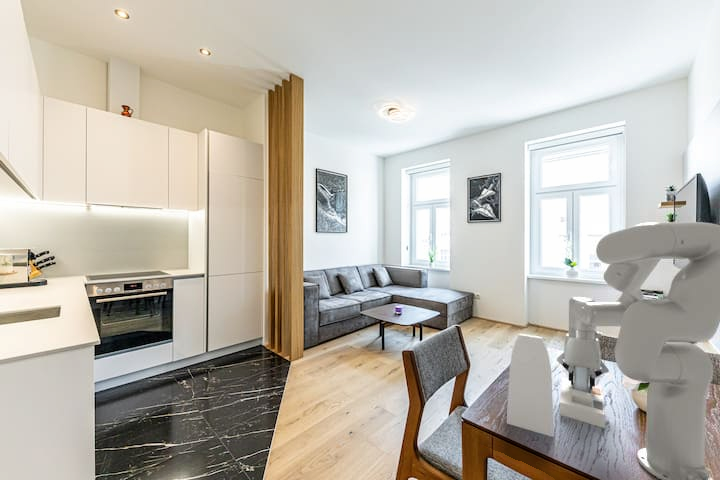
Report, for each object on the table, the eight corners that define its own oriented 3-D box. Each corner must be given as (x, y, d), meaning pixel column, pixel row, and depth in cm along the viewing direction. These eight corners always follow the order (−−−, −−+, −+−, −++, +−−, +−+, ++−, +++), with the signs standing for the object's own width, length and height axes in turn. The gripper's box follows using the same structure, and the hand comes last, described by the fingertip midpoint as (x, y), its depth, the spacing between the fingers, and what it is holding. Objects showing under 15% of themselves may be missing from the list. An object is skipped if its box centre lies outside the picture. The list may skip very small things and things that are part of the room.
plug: (591, 402, 99) (591, 367, 99) (579, 402, 99) (579, 367, 99) (582, 396, 103) (582, 362, 103) (571, 396, 103) (571, 362, 103)
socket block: (605, 428, 86) (605, 413, 86) (559, 414, 92) (560, 401, 92) (600, 398, 102) (600, 385, 102) (562, 388, 108) (562, 376, 108)
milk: (551, 415, 92) (552, 333, 92) (553, 437, 82) (554, 345, 82) (509, 404, 98) (509, 327, 98) (506, 423, 88) (507, 338, 88)
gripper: (613, 335, 99) (612, 388, 99) (553, 326, 109) (552, 374, 109) (615, 341, 93) (614, 398, 93) (551, 331, 103) (551, 382, 103)
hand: (581, 385), depth 101 cm, fingers open, 4 cm apart
